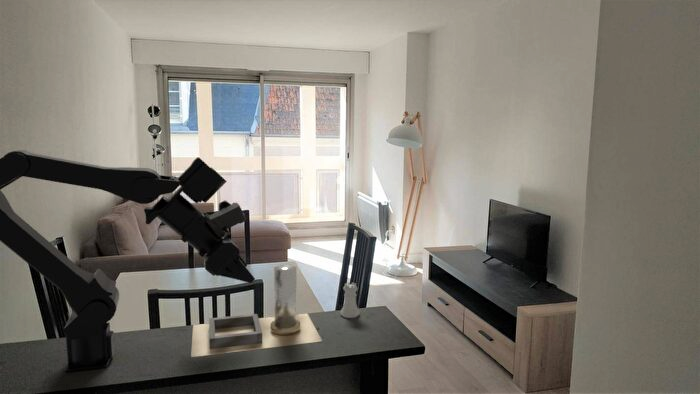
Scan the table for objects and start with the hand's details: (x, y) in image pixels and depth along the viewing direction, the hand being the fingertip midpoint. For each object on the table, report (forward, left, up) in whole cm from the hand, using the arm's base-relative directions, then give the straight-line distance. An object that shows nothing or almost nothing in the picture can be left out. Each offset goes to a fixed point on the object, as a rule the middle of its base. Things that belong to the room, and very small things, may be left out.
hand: (249, 273), depth 89 cm
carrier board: (+1, 0, -13) cm, 13 cm away
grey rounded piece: (+7, 0, -12) cm, 14 cm away
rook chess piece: (+22, +4, -13) cm, 26 cm away
